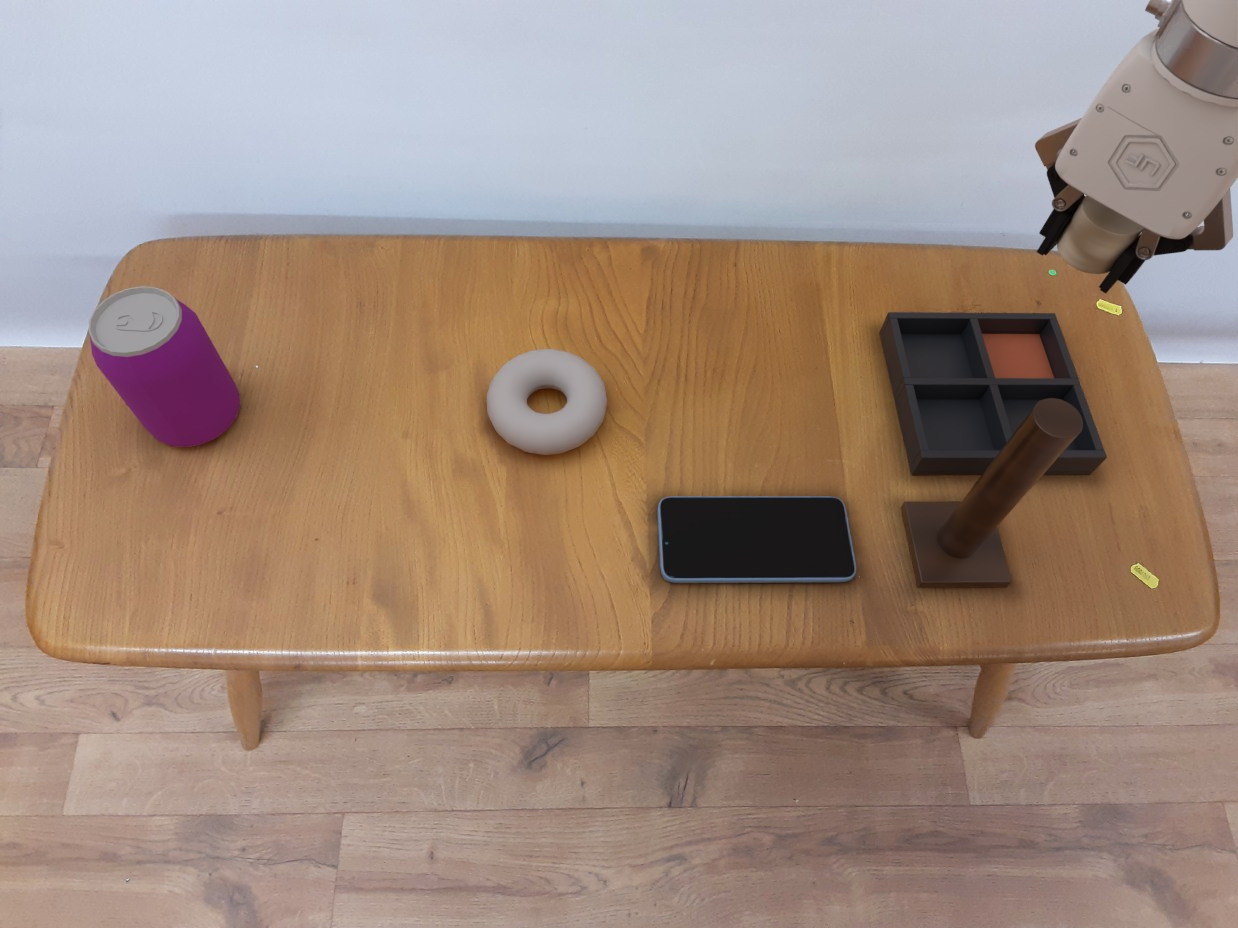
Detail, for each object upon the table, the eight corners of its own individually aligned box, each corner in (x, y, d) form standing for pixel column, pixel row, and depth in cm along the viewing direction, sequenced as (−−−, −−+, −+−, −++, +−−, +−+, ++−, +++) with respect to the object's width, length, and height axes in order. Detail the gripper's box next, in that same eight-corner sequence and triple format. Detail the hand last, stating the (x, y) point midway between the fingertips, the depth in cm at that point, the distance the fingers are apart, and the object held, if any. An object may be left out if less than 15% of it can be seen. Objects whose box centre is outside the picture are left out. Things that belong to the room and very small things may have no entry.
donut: (483, 462, 72) (606, 464, 72) (478, 439, 69) (606, 441, 69) (493, 364, 77) (608, 366, 77) (489, 338, 74) (608, 341, 74)
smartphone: (859, 578, 67) (661, 580, 66) (856, 583, 67) (660, 585, 67) (844, 493, 70) (657, 493, 70) (841, 498, 71) (656, 498, 70)
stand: (1007, 587, 68) (1132, 466, 52) (917, 587, 68) (1016, 467, 52) (985, 506, 71) (1096, 372, 56) (900, 507, 71) (988, 371, 56)
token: (1129, 252, 67) (1159, 212, 64) (1099, 284, 65) (1128, 244, 62) (1075, 221, 69) (1101, 180, 65) (1045, 250, 67) (1070, 210, 63)
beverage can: (139, 455, 71) (65, 364, 61) (156, 378, 75) (89, 280, 65) (238, 450, 72) (181, 358, 61) (249, 374, 76) (197, 276, 65)
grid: (1090, 475, 73) (1107, 457, 71) (911, 475, 73) (922, 457, 70) (1041, 333, 81) (1055, 312, 79) (878, 332, 80) (888, 311, 78)
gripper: (1069, 9, 54) (959, 231, 69) (1347, 145, 48) (1159, 353, 64) (1127, -39, 57) (1008, 184, 72) (1395, 84, 51) (1204, 297, 67)
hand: (1080, 261), depth 68 cm, fingers closed on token, 4 cm apart
